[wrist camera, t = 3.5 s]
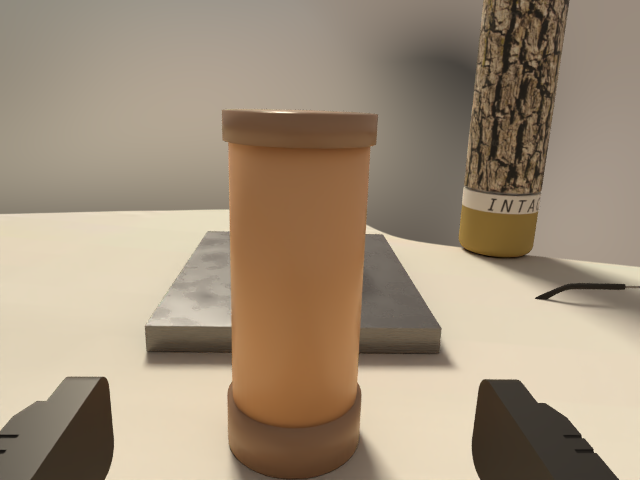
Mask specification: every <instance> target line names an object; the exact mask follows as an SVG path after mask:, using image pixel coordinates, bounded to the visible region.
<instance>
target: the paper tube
mask: <svg viewBox="0 0 640 480" xmlns="http://www.w3.org/2000/svg"><path fill="white" fill-rule="evenodd" d="M568 6H569V0H484V1H483V11H482V20H481V30H480V40H479V48H478V49H479V50H478V58H477V67H476V77H475V86H474V96H473V105H472V116H471V124H470V133H469V143H468V152H467V162H466V172H465V181H464V185H465V186H464V190H463V199H462V211H461V221H460V230H459V242H460V244H461V245H462V246H463V247H464V248H465V249H467V250H469V251H472V252H475V253H478V254H482V255H488V256H495V257H519V256H523V255H526V254H527V253H529V252H530V251H531V250H532V247H533V242H534V236H535V229H536V222H537V215H538V210H539V204H540V196H541V190H542V184H543V177H544V170H545V163H546V155H547V150H548V143H549V135H550V129H551V122H552V115H553V109H554V102H555V95H556V88H557V81H558V75H559V68H560V61H561V54H562V47H563V40H564V34H565V27H566V20H567V13H568Z"/></svg>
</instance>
